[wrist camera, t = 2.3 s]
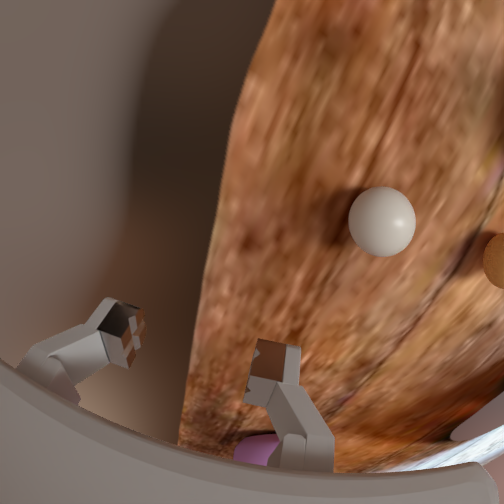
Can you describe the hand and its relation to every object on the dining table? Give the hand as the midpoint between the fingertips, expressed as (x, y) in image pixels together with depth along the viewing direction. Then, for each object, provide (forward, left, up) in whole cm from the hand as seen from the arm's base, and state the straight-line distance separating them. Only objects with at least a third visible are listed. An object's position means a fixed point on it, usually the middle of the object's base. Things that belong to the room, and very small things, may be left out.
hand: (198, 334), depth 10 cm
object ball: (0, +25, -14) cm, 29 cm away
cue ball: (0, +10, -14) cm, 18 cm away
